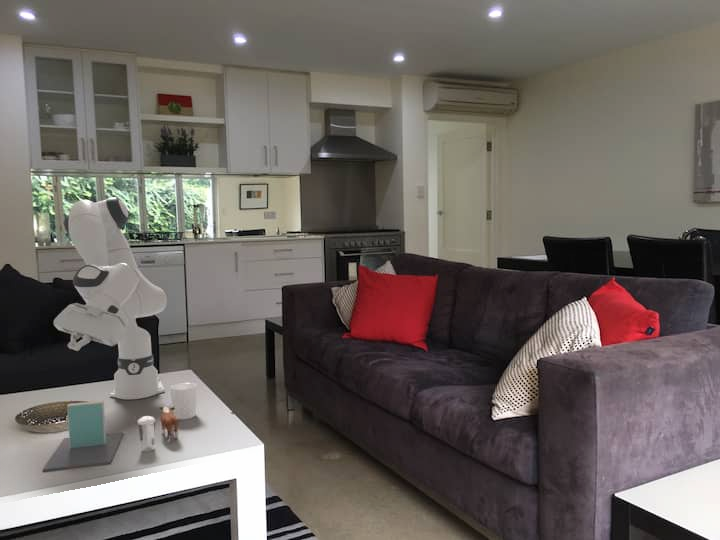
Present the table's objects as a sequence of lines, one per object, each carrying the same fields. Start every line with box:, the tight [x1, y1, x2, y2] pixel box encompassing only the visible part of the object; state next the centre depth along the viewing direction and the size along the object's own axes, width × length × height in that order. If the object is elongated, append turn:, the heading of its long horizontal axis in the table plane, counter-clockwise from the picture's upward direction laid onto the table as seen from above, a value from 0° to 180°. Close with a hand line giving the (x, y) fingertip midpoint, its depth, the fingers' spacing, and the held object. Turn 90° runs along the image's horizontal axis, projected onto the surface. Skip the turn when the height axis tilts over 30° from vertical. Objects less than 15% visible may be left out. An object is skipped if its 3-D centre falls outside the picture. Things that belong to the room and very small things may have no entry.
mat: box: [42, 431, 124, 472], centre depth 159 cm, size 22×16×1 cm
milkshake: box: [134, 415, 156, 453], centre depth 158 cm, size 5×5×10 cm
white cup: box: [170, 382, 197, 421], centre depth 186 cm, size 8×8×10 cm
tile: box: [67, 400, 107, 448], centre depth 161 cm, size 2×9×12 cm, turn 104°
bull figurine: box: [159, 403, 180, 444], centre depth 168 cm, size 4×13×8 cm, turn 25°
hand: (72, 348), depth 163 cm, fingers closed
